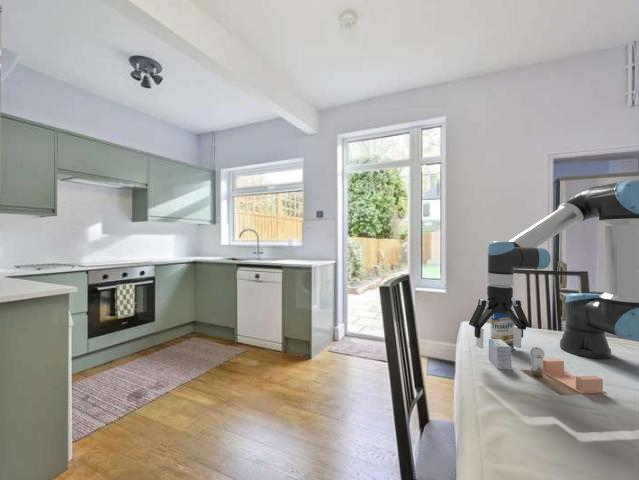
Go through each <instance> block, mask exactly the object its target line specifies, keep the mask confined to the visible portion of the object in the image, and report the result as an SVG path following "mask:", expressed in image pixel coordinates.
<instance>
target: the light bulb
mask: <svg viewBox="0 0 639 480" xmlns="http://www.w3.org/2000/svg"><path fill="white" fill-rule="evenodd" d="M529 353H530V356H531V357H530V359H531V360H530V361H531V362H530V364H531V365H530V367H531V368H530V370H531V375H532V376H534V377H537V378H543V359H544V357H545V351H544V350H543V349H542V348H540V347H538V346H534V347H532V348H531V349H530V351H529Z"/></svg>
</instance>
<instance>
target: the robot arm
mask: <svg viewBox="0 0 639 480" xmlns="http://www.w3.org/2000/svg"><path fill="white" fill-rule="evenodd" d="M594 218H598V221H599V222H600V223H601V224H602V225H604V289H605V290H604V292H602V293H581V292H580V293H579V292H577V293H575V292H572V293H568V294H567V295H566V297H565V302H564V304H565V306H564V307H565V308H564V309H565V310H564V312H565V329H564V332H563V334H562V337H561V338H560V341H559V348H560V349H561V350H563V351H565V352H567V353H570V354H573V355H577V356H580V357H586V358H590V359H592V358H593V359H600V360H603V359H604V360H605V359H606V360H607V359H610V358H612V349H611V348H610V346H609V342H608V340H607V337H606V333H608V334H611V335H614V336H616V337H619V338H622V339H627V340H631V341H639V179H632V180H631V179H629V180H623V181H622V180H620V181H619V182H618V181H617V182H611V183H608V184H607V183H606V184H603V185H597V186H591V187H589V188H587V189H584V190H582V191H580V192H579V193H576V194H575V195H573V196H571V197H570V198H568V199H566V200H565V201H564V202H562V203H561V204H559V205H558V206H557V209H556V210H555V211H552V213H550V214H549V215H547V216H546V217H543V218H542V219H541V220H539V221H537V223H535V224H533V225H531V226H530V227H528V228H527V229H525V230H524V231H522V232H521V233H519V234H518V235H516V236H515V237H513V238H512V239H510V240H508V241H501V240H500V241H499V240H496V241H490V242H489V243H488V250H487V284H488V285H487V288H486V289H487V291H486V292H487V293H486V294H487V299H482V298H479V299H478V303H477V305H476V309H475V310H474V312H473V314H472V315H471V318H470V320H469V322H468V324H469V326H472V327H473V328H474V334H473V335H474V337H475V339H476V340H475V341H476V342H475V346H477V348H479V349H484V328H483V326H484V325H485V324H486V323H487V322H488V320H489V319H491V317H492V315H493V314H495V313H506V314H507V315H508V316H509V318H510V319H511V320H512V321H513V323H514V337H513V346H514V348H517V349H522V339H523V338H524V330H526V329H527V328H529V327H530V323H529V321H528V319H527V316H526V314H525V312H524V310H523V308H522V301H521V300H519V299H516V298H514V295H513V294H514V288H513V286H514V270H534V271H538V270H545V269H547V268H548V267H549V266H550V264H551V260H552V259H551V257H552V256H551V254H550V252H549V251H548V250H547V249H546V248H543V247H540V246H541V245H543V244H545V242H547V241H550V240H551V239H552V238H554V237H555V236H556V235H558V234H560V233H561V232H563V231H564V230H566V229H568V228H569V227H570V226H573V225H578V224H580V223H582V222H584V221H585V220H588V219H594ZM513 298H514V299H513ZM511 306H512V308H513V309H514V310H513V309H512V308H510V307H511ZM514 312H515V313H514Z"/></svg>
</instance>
